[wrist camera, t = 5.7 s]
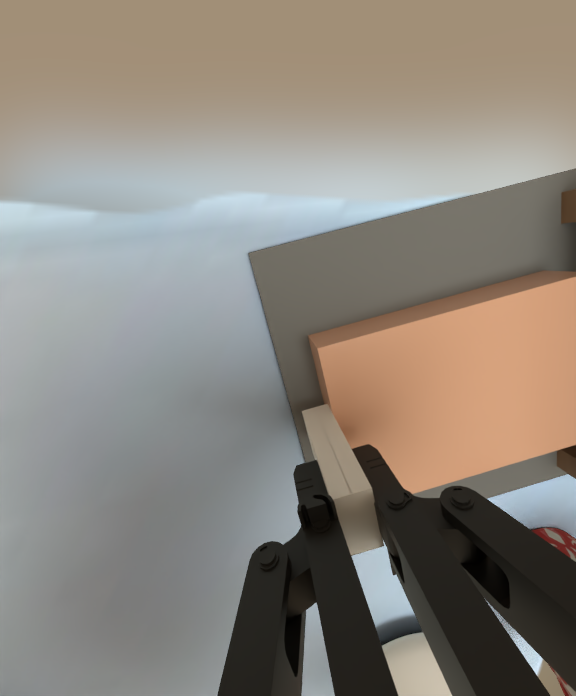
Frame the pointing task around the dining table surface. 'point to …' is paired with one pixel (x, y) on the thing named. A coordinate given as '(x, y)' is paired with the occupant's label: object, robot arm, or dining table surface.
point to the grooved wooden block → (572, 210)
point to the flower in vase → (414, 667)
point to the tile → (458, 379)
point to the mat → (412, 284)
